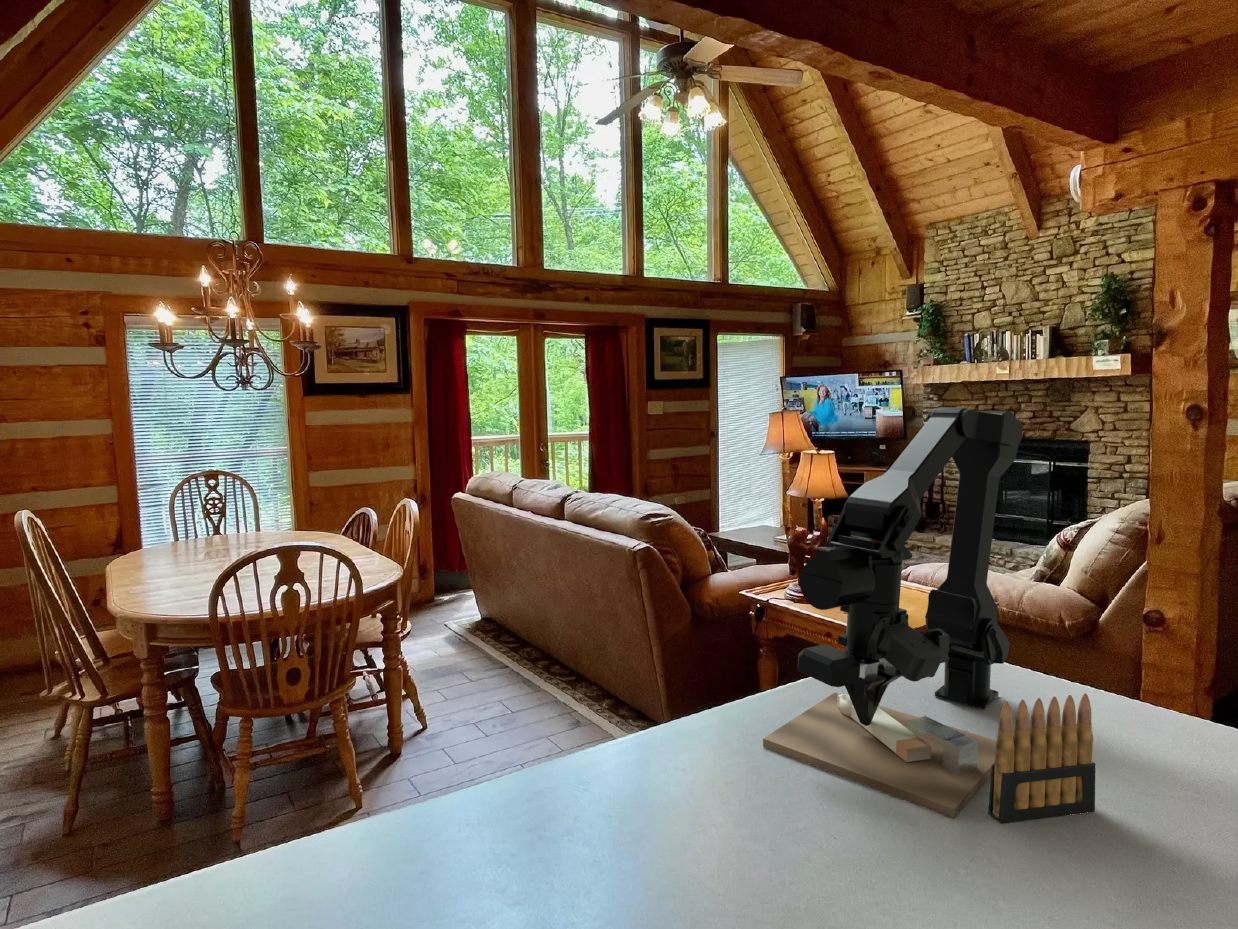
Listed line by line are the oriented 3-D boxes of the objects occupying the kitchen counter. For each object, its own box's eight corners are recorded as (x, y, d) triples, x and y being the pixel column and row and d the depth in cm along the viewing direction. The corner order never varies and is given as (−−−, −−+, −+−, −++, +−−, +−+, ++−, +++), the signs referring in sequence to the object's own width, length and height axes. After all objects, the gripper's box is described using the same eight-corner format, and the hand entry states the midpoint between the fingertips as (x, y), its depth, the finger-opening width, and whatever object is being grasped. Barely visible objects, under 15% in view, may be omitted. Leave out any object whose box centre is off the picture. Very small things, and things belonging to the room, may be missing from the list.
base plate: (834, 699, 100) (834, 692, 99) (1009, 752, 84) (1009, 744, 84) (763, 746, 87) (763, 738, 86) (954, 818, 71) (954, 809, 71)
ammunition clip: (1080, 801, 74) (1086, 689, 73) (1095, 812, 72) (1101, 696, 71) (987, 813, 72) (991, 698, 71) (1000, 824, 70) (1004, 706, 69)
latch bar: (833, 706, 95) (834, 676, 94) (861, 703, 95) (861, 673, 95) (902, 763, 80) (903, 727, 80) (934, 758, 81) (935, 723, 80)
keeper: (924, 741, 85) (925, 715, 85) (977, 768, 79) (978, 741, 79) (906, 746, 84) (906, 721, 84) (958, 774, 78) (959, 747, 77)
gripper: (878, 627, 74) (867, 773, 75) (984, 606, 84) (973, 735, 85) (798, 600, 84) (790, 730, 85) (902, 584, 93) (893, 700, 95)
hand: (864, 724), depth 87 cm, fingers closed
